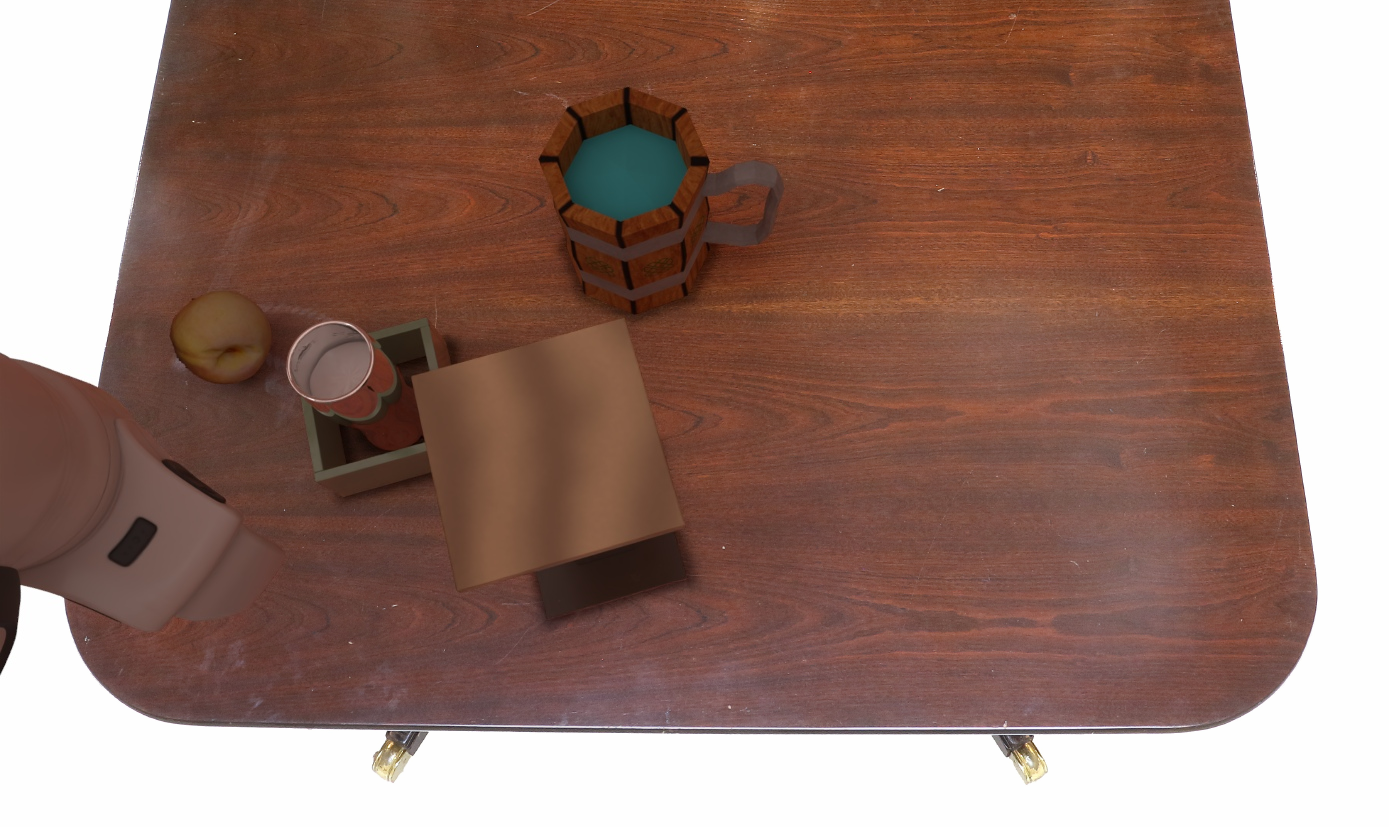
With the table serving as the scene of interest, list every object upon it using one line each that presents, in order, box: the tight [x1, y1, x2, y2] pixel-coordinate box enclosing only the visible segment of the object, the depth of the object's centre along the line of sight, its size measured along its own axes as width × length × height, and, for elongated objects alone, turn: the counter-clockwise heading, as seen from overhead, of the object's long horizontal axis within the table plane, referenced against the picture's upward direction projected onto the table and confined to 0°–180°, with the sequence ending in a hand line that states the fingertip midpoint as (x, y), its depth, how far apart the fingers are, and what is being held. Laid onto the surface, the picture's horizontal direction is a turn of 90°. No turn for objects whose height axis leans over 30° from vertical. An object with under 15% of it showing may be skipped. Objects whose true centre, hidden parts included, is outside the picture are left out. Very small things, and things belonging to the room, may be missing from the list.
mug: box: [537, 86, 785, 315], centre depth 80 cm, size 20×14×15 cm
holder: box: [299, 316, 452, 498], centre depth 80 cm, size 12×12×6 cm
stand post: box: [535, 531, 688, 621], centre depth 67 cm, size 12×12×27 cm
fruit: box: [169, 290, 272, 385], centre depth 81 cm, size 8×8×8 cm
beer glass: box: [285, 319, 424, 451], centre depth 76 cm, size 7×7×15 cm
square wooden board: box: [410, 317, 686, 594], centre depth 54 cm, size 13×13×1 cm
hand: (141, 483), depth 54 cm, fingers open, 8 cm apart
